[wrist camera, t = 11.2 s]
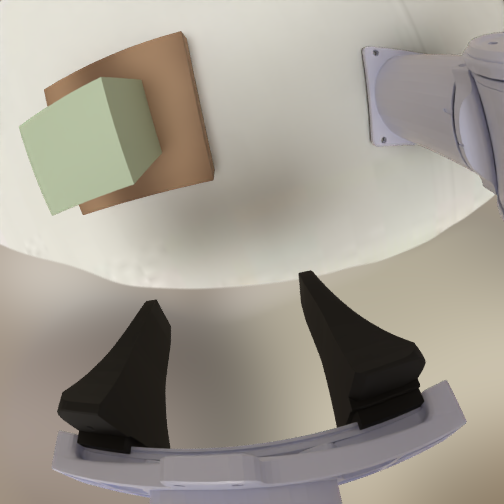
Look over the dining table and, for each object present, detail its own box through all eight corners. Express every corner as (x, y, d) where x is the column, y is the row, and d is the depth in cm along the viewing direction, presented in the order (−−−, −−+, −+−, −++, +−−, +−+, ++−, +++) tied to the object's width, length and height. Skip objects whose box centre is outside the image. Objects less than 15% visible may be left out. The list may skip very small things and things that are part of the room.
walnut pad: (187, 39, 14) (181, 31, 12) (214, 167, 20) (213, 180, 17) (65, 87, 14) (44, 89, 12) (98, 199, 20) (83, 215, 17)
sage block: (141, 79, 13) (100, 77, 8) (162, 152, 16) (134, 184, 11) (74, 110, 13) (18, 126, 8) (96, 176, 16) (52, 215, 11)
